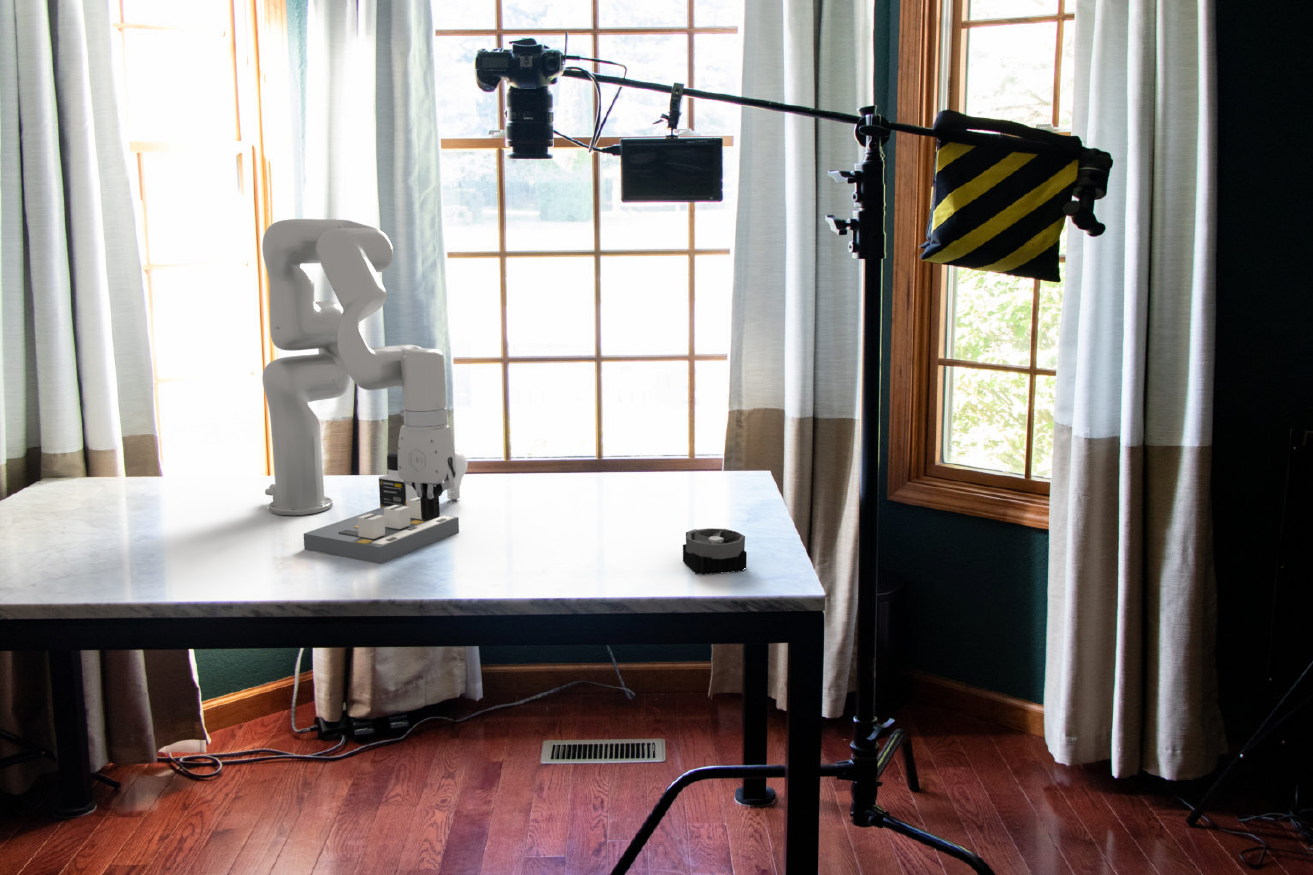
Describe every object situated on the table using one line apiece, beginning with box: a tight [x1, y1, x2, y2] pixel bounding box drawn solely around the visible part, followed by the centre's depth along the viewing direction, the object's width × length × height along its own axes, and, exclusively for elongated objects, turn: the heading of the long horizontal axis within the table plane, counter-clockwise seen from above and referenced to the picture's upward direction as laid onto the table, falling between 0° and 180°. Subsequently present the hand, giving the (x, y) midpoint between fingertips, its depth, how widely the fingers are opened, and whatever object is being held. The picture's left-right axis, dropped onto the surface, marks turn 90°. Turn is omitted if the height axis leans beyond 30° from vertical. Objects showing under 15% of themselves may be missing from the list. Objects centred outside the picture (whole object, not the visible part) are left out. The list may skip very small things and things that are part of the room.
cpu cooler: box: [682, 527, 748, 576], centre depth 187 cm, size 10×6×10 cm
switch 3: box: [409, 497, 422, 520], centre depth 205 cm, size 4×3×4 cm
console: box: [303, 506, 460, 565], centre depth 201 cm, size 18×22×3 cm
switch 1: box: [358, 514, 385, 539], centre depth 193 cm, size 4×3×4 cm
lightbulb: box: [446, 449, 469, 502], centre depth 230 cm, size 6×6×11 cm
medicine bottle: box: [378, 450, 418, 508], centre depth 223 cm, size 7×7×12 cm
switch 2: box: [384, 505, 410, 529], centre depth 199 cm, size 4×3×4 cm
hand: (430, 518), depth 195 cm, fingers closed
